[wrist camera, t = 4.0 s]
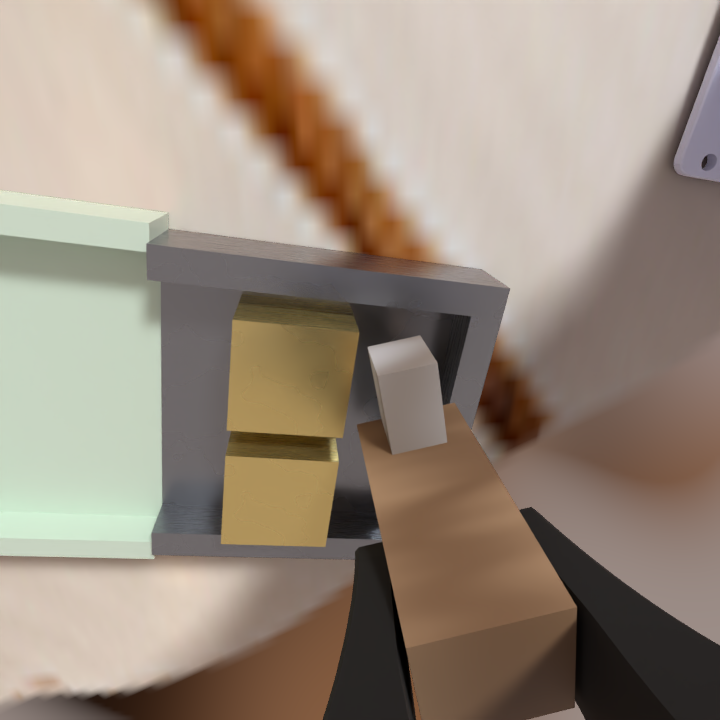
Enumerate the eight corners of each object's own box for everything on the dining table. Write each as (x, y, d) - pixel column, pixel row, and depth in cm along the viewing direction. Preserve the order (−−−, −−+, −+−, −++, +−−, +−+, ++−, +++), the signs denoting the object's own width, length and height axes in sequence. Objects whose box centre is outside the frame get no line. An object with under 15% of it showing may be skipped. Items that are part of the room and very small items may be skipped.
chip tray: (168, 212, 15) (149, 223, 13) (168, 517, 20) (154, 558, 18) (-107, 175, 14) (-174, 181, 12) (-39, 509, 19) (-79, 553, 17)
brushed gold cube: (350, 305, 16) (359, 332, 14) (336, 399, 17) (342, 438, 15) (241, 294, 16) (232, 319, 13) (235, 391, 17) (226, 430, 15)
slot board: (481, 269, 17) (510, 288, 15) (420, 517, 21) (435, 561, 19) (168, 228, 15) (146, 243, 13) (168, 507, 20) (151, 554, 17)
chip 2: (333, 421, 18) (338, 462, 16) (322, 499, 19) (325, 546, 17) (234, 414, 17) (225, 455, 15) (229, 495, 19) (220, 543, 16)
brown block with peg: (446, 329, 14) (579, 500, 7) (468, 533, 17) (572, 769, 11) (340, 352, 13) (383, 546, 7) (384, 553, 17) (439, 804, 11)
